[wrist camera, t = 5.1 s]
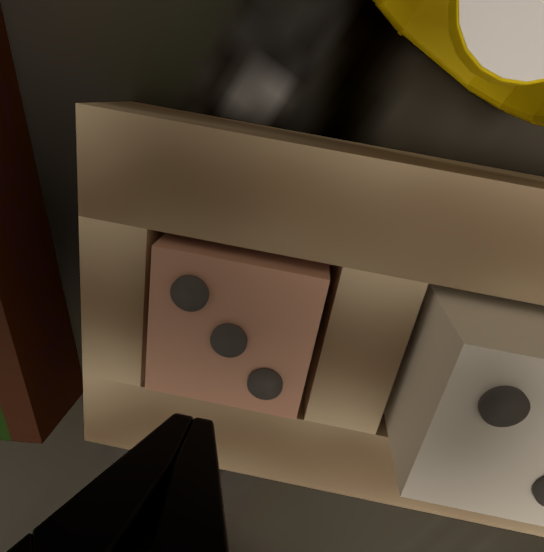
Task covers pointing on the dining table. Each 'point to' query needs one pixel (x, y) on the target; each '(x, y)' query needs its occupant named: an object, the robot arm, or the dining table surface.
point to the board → (299, 244)
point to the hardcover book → (29, 286)
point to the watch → (481, 47)
